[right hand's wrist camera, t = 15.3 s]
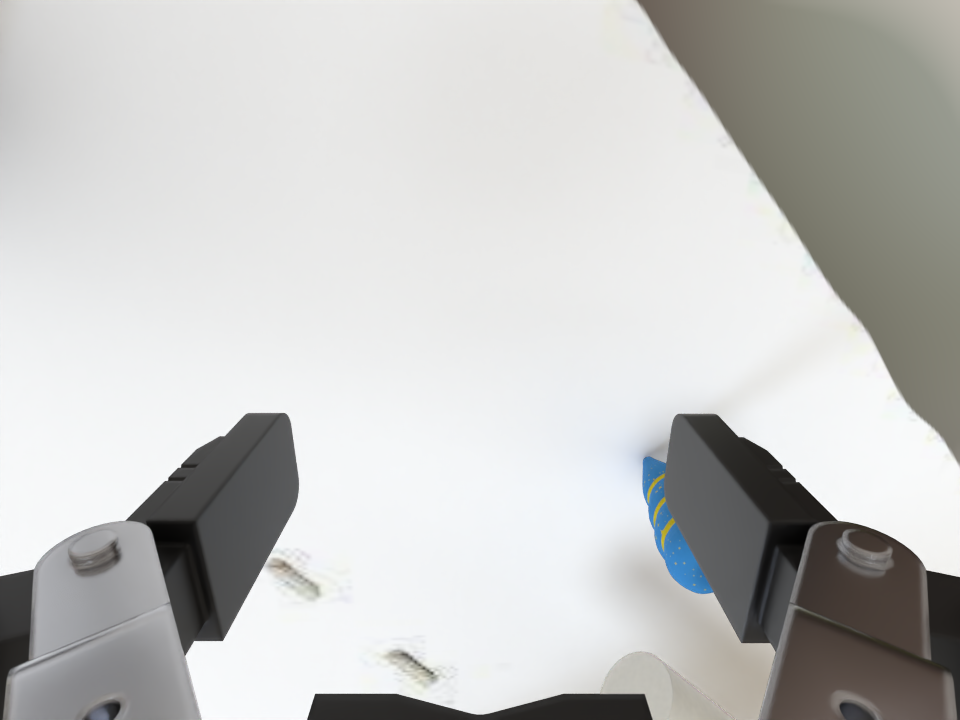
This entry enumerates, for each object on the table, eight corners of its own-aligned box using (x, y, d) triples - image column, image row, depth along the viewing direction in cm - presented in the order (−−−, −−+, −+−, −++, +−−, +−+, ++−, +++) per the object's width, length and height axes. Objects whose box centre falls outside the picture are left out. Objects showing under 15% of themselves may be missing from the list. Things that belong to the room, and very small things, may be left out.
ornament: (605, 461, 44) (663, 598, 30) (648, 419, 43) (730, 542, 29) (648, 494, 46) (723, 640, 32) (691, 454, 44) (790, 588, 30)
